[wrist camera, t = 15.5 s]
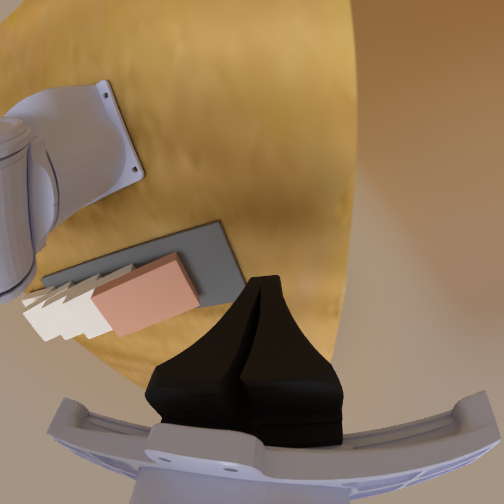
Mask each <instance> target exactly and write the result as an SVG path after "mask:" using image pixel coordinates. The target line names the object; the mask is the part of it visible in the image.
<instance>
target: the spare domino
mask: <svg viewBox="0 0 504 504" xmlns="http://www.w3.org/2000/svg"><path fill="white" fill-rule="evenodd" d="M90 299H91V300H92V301H93V303H94V304H95V306H96V307H97V309H98V310H99V311H100V313H101V314H102V316H103V317H104V318H105V320H106V321H107V322H108V324H109V325H110V326H111V328H112V329H113V330H114V332H115V333H116V334H117V335H118V337H122V336H124V335H127V334H130V333H132V332H135V331H137V330H140V329H143V328H145V327H148V326H150V325H153V324H155V323H158V322H161V321H163V320H166V319H168V318H171V317H173V316H176V315H178V314H181V313H183V312H186V311H188V310H191V309H193V308H195V307H198V306H200V300H199V295H198V293H197V291H196V289H195V287H194V285H193V283H192V282H191V280H190V278H189V276H188V274H187V272H186V270H185V268H184V266H183V264H182V262H181V260H180V258H179V257H178V255H177V253H176V252H173V253H171V254H169V255H167V256H164V257H162V258H160V259H158V260H155V261H153V262H151V263H149V264H146V265H144V266H142V267H140V268H138V269H135V270H133V271H131V272H129V273H127V274H124V275H122V276H120V277H118V278H116V279H114V280H111V281H109V282H107V283H105V284H103V285H101V286H99V287H96V288H95V289H94V291H93V294H92V296H91V298H90Z"/></svg>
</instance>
